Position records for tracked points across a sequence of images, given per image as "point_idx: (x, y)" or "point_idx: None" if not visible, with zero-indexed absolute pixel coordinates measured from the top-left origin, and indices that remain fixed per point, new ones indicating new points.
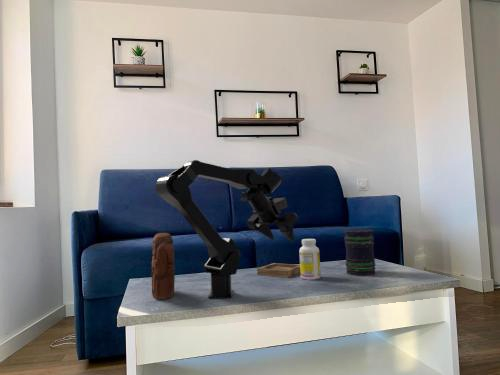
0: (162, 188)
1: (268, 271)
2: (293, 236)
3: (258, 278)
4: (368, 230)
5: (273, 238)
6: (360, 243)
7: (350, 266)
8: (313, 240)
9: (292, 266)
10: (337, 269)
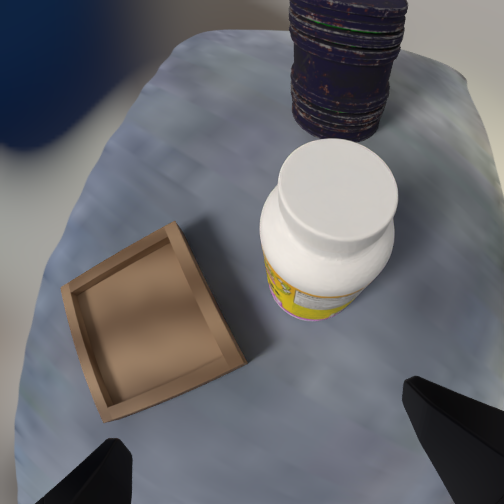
0: None
1: (155, 404)
2: (452, 397)
3: (179, 460)
4: None
5: (123, 449)
6: (396, 46)
7: (351, 123)
8: (395, 181)
9: (143, 254)
10: (246, 125)
